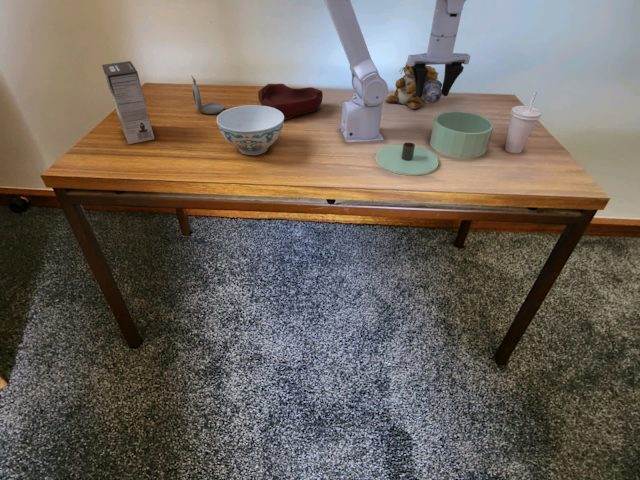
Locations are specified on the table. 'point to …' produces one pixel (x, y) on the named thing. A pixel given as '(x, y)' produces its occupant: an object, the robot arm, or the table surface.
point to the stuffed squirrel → (410, 88)
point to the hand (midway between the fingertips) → (431, 95)
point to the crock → (461, 134)
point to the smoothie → (521, 126)
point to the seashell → (432, 91)
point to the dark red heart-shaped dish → (290, 99)
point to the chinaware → (251, 127)
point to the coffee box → (129, 101)
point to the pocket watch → (206, 108)
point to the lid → (407, 159)
